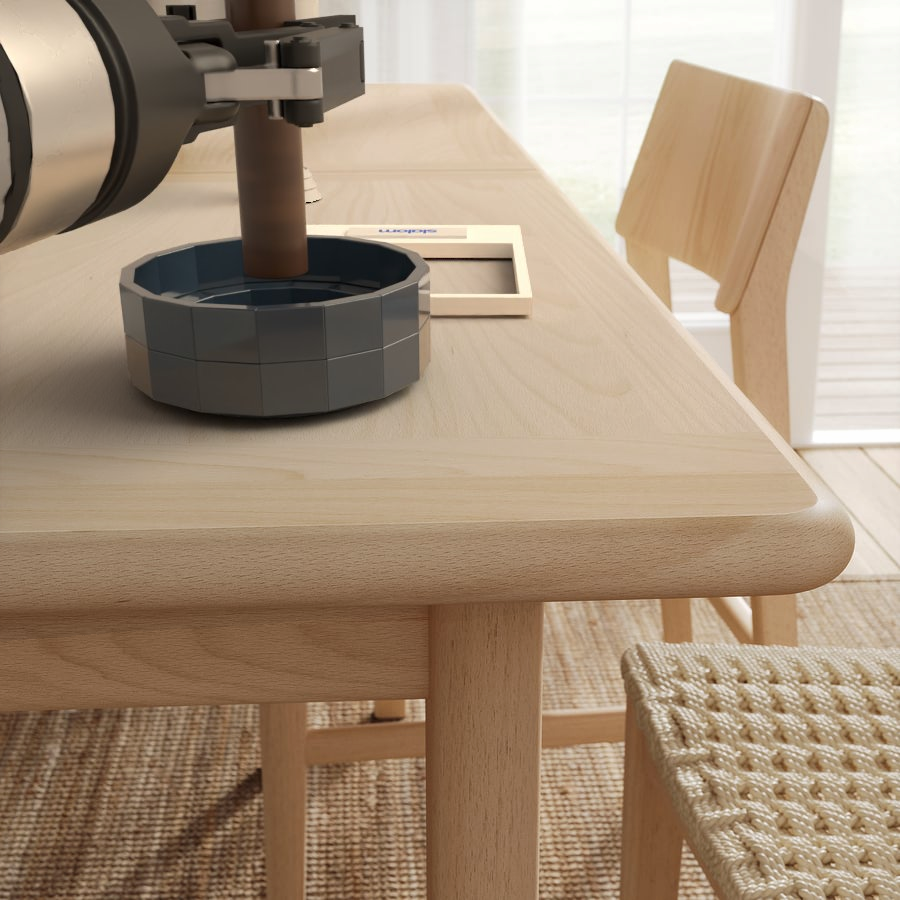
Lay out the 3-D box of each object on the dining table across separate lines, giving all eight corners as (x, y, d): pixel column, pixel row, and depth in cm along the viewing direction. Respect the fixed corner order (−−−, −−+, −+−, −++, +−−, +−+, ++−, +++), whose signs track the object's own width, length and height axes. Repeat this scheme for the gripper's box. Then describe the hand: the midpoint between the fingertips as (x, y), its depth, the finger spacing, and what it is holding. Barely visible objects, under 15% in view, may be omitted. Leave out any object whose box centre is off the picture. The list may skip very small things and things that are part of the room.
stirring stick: (230, 274, 51) (198, -138, 45) (272, 261, 53) (248, -133, 47) (280, 283, 49) (254, -142, 43) (321, 269, 51) (302, -137, 45)
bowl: (68, 391, 51) (52, 279, 49) (267, 318, 61) (260, 223, 59) (303, 454, 45) (296, 327, 43) (482, 361, 55) (483, 255, 53)
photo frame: (519, 222, 78) (532, 293, 61) (519, 239, 78) (532, 314, 61) (299, 221, 78) (252, 293, 61) (300, 238, 78) (254, 313, 62)
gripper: (-214, 227, 35) (159, 127, 56) (283, 256, 31) (483, 137, 52) (-275, -47, 32) (143, -44, 53) (265, -50, 28) (484, -45, 49)
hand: (311, 46), depth 53 cm, fingers closed on stirring stick, 3 cm apart
